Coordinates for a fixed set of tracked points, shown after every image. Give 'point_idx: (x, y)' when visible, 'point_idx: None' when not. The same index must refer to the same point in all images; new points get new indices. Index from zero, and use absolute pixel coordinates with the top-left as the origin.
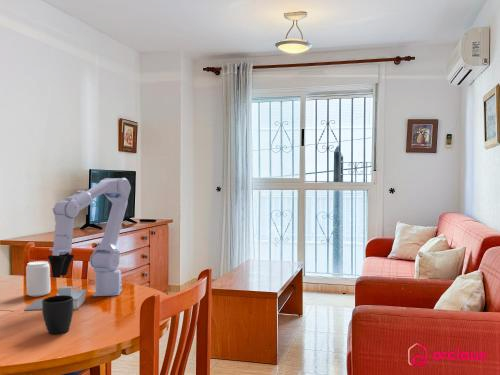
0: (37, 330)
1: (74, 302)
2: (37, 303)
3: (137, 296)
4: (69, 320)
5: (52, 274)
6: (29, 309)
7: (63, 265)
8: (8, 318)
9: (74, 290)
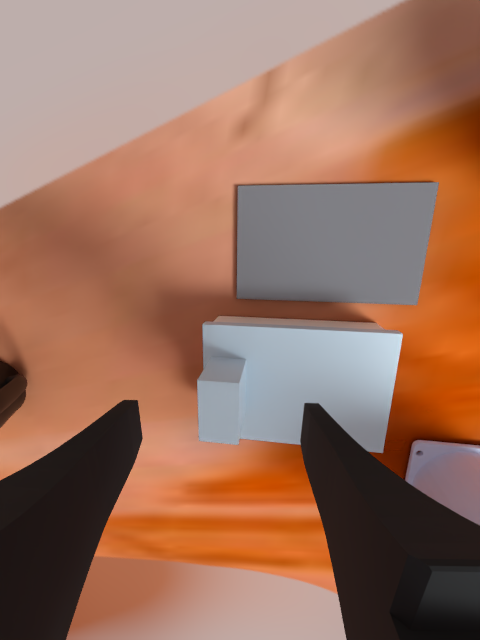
0: (5, 322)
1: None
2: (344, 215)
3: None
4: None
5: (109, 410)
6: (240, 212)
7: (330, 494)
8: (131, 159)
9: (372, 402)
